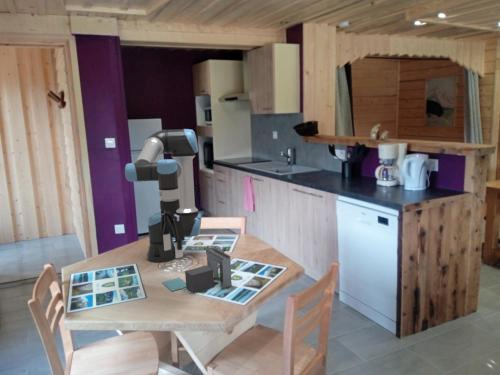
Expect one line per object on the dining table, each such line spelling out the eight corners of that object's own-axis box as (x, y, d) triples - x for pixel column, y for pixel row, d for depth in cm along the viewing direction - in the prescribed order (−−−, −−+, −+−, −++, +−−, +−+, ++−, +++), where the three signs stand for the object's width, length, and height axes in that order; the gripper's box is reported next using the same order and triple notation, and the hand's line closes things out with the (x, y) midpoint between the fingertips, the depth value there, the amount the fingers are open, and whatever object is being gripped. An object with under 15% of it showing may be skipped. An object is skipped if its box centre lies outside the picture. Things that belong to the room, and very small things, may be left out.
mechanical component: (225, 268, 194) (224, 248, 193) (204, 267, 197) (203, 247, 195) (227, 266, 197) (226, 246, 195) (206, 265, 199) (205, 245, 198)
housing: (208, 278, 184) (206, 249, 181) (215, 275, 186) (214, 247, 184) (223, 288, 173) (222, 258, 170) (231, 285, 175) (230, 256, 173)
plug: (186, 288, 174) (185, 271, 173) (210, 281, 180) (209, 264, 179) (192, 293, 169) (191, 275, 168) (217, 286, 176) (216, 268, 174)
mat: (161, 283, 180) (161, 282, 180) (178, 278, 185) (178, 277, 185) (172, 291, 171) (172, 290, 171) (189, 286, 176) (189, 285, 176)
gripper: (149, 196, 168) (153, 248, 172) (172, 206, 149) (176, 263, 154) (166, 193, 172) (170, 244, 176) (191, 202, 153) (194, 259, 158)
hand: (173, 253), depth 165 cm, fingers open, 10 cm apart
